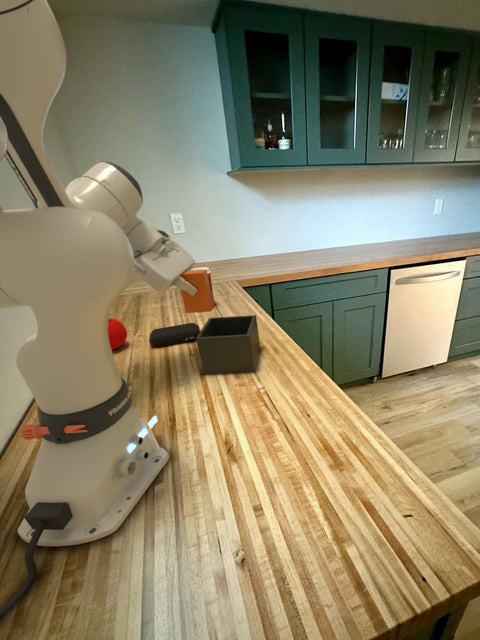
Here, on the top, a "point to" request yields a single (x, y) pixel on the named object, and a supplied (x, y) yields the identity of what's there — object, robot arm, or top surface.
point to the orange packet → (202, 297)
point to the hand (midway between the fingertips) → (198, 289)
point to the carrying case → (174, 334)
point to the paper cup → (208, 278)
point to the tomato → (116, 333)
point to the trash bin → (229, 344)
